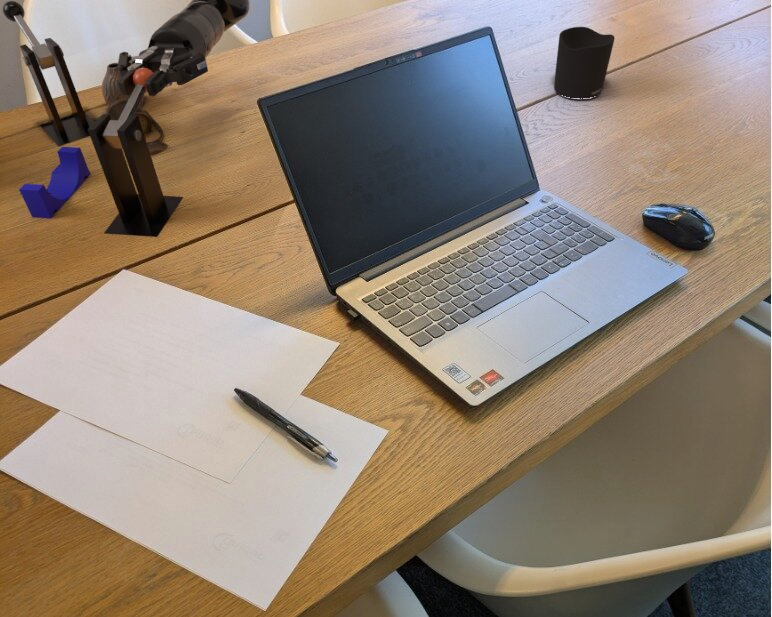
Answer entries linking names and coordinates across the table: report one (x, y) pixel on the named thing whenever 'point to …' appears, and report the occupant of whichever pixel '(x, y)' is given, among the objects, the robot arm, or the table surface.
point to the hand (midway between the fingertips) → (136, 89)
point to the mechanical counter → (145, 120)
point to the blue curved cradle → (57, 184)
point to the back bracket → (57, 128)
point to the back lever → (29, 34)
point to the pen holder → (582, 62)
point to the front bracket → (135, 210)
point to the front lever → (127, 108)
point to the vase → (113, 85)
